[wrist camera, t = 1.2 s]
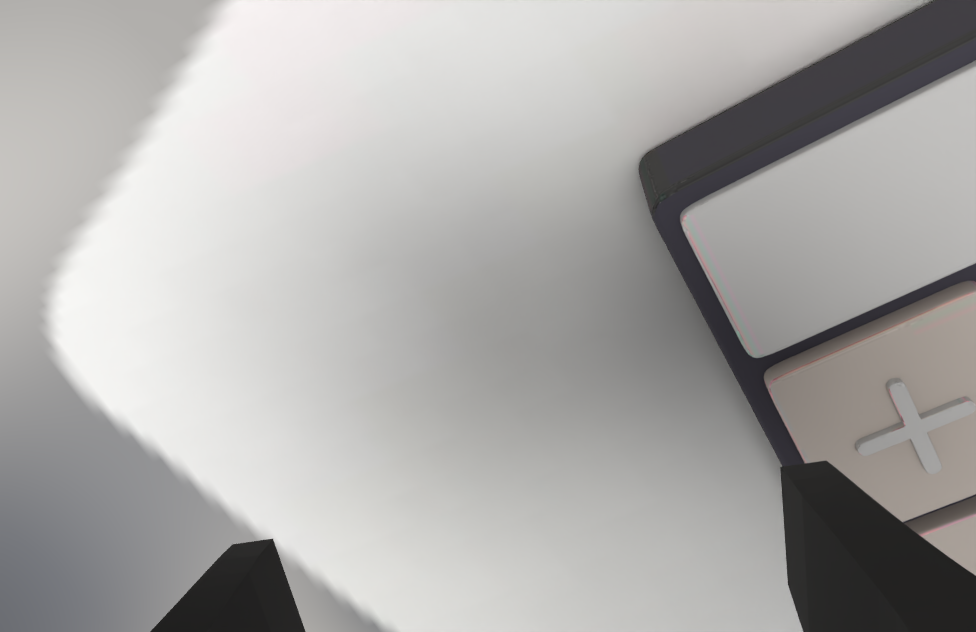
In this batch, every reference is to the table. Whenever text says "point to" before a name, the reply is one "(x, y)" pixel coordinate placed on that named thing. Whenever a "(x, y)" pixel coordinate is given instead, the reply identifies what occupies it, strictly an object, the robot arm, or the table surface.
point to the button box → (848, 262)
